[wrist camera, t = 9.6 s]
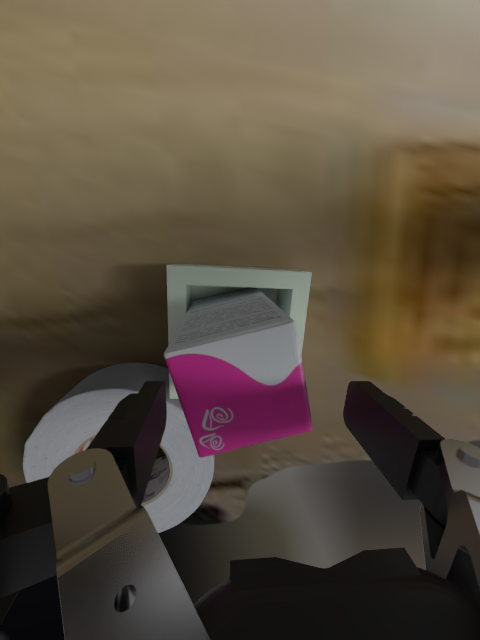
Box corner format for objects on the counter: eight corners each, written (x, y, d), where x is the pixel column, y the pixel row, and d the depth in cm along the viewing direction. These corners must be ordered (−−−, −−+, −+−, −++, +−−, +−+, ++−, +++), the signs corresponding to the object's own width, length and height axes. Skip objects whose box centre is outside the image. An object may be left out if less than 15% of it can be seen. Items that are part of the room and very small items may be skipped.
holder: (290, 269, 21) (311, 272, 17) (279, 369, 24) (295, 397, 19) (178, 263, 20) (166, 265, 16) (179, 369, 23) (169, 398, 18)
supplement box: (189, 300, 20) (158, 350, 9) (256, 284, 21) (304, 315, 9) (206, 360, 22) (197, 464, 11) (268, 345, 22) (321, 431, 11)
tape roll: (25, 424, 23) (-26, 470, 18) (144, 330, 22) (123, 350, 17) (138, 510, 27) (121, 566, 22) (243, 433, 26) (250, 474, 21)
